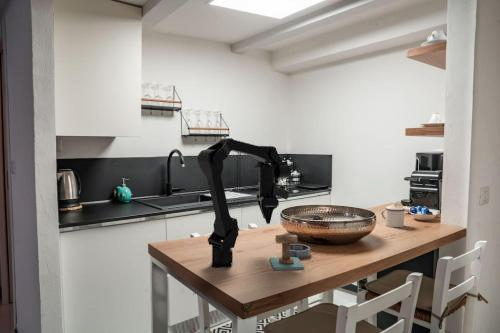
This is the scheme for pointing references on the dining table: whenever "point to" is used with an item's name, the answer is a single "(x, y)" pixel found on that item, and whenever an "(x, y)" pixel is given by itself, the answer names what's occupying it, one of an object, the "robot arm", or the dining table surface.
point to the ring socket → (299, 250)
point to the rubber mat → (278, 266)
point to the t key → (286, 247)
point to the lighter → (316, 217)
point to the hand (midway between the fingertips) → (266, 221)
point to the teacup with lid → (394, 215)
